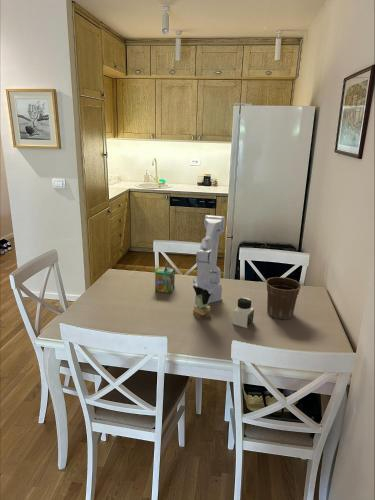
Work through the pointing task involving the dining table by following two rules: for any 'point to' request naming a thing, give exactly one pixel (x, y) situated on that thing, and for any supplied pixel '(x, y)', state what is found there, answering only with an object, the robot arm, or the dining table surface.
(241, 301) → the medicine bottle
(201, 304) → the green cube
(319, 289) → the dining table surface
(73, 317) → the dining table surface
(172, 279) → the chalk box
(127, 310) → the dining table surface
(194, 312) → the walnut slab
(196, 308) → the oak slab
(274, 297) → the plant pot
